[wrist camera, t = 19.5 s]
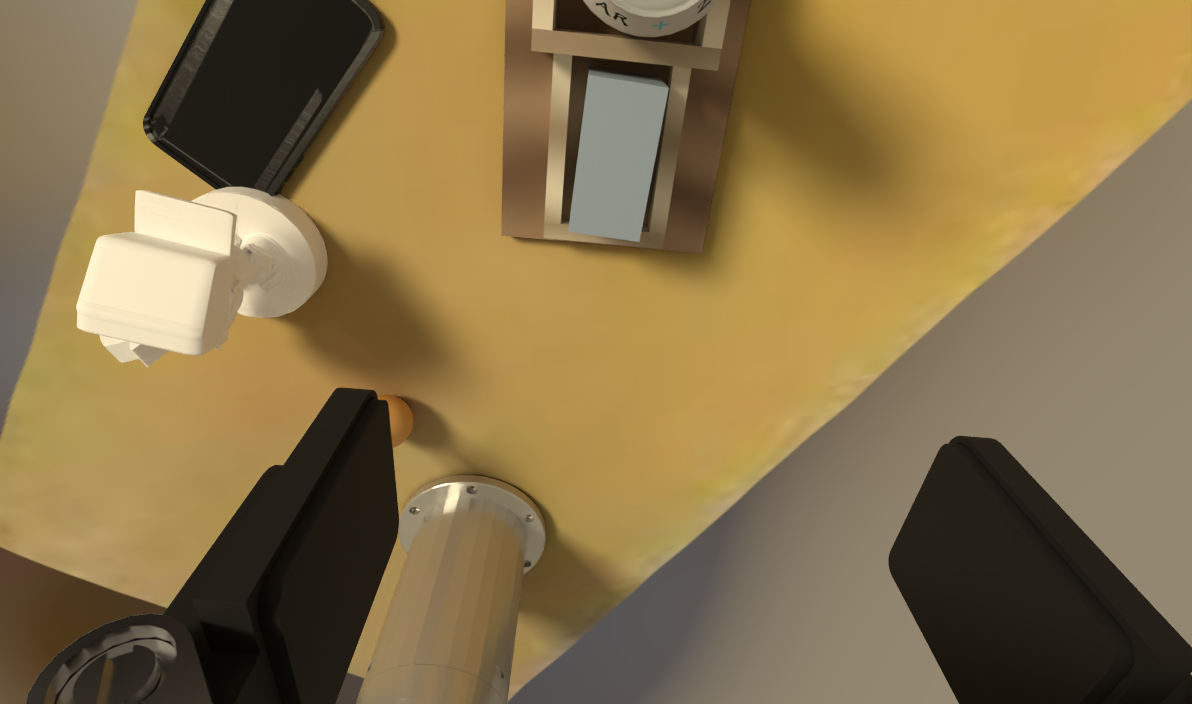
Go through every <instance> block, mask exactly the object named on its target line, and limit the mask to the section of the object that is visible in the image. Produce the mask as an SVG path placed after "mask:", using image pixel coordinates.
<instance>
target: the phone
mask: <svg viewBox="0 0 1192 704" xmlns="http://www.w3.org/2000/svg"><path fill="white" fill-rule="evenodd" d="M383 35H384V22H383V18H382V16H381V14H380V12H379V11H378V10H377V8H376V7H375V6H374V5H373V4H372V3H371V2H370V1H368V0H206V1H205V3H204V5H203V7H202V9H201V11H200V12H199V14H198V16H197V18H196V20H195V22H194V24H193V26H192V28H191V29H190V31H189V33H188V35H187V37H186V39H185V41H184V43H183V45H182V46H181V48H180V50H179V52H178V54H177V56H176V58H175V60H174V62H173V63H172V65H171V67H170V69H169V71H168V73H167V75H166V77H165V79H164V80H163V82H162V84H161V86H160V88H159V90H158V92H157V94H156V96H155V97H154V99H153V101H152V103H151V105H150V107H149V109H148V111H147V113H146V114H145V116H144V120H143V128H144V131H145V133H146V135H147V137H148V138H149V140H150V141H151V142H152V143H153V144H154V145H156V146H157V147H158V148H160V149H161V150H162V151H164V152H165V153H167V154H168V155H169V156H171V157H172V158H173V159H175V160H176V161H178V162H179V163H180V164H182V165H183V166H184V167H186V168H187V169H189V170H190V171H191V172H193V173H194V174H195V175H197V176H198V177H200V178H201V179H202V180H204V181H205V182H206V183H208V184H209V185H211V186H212V187H213V188H215V189H216V190H217V189H222V188H225V187H245V188H251V189H256V190H259V191H262V192H265V193H268V194H269V195H270V196H274V195H278V194H279V192H280V191H281V189H282V186H283V185H284V183H285V182H287V181H288V179H289V178H290V176H291V175H292V173H293V172H294V168H295V167H296V168H297V167H298V165H299V164H300V162H301V161H302V159H303V158H304V157H303V155H304V154H305V152H306V151H307V149H308V148H309V146H310V145H311V143H312V142H313V140H314V139H315V137H316V136H317V134H318V133H319V131H320V130H321V128H322V127H323V125H324V124H325V122H326V121H327V119H328V118H329V117H330V115H331V114H332V112H333V111H334V109H335V108H336V106H337V105H338V103H339V102H340V100H341V99H342V97H343V96H344V94H345V93H346V91H347V90H348V88H349V87H350V85H351V84H352V82H353V81H354V79H355V78H356V76H357V75H358V73H359V72H360V71H361V69H362V68H363V66H364V65H365V63H366V62H367V60H368V59H369V57H370V56H371V54H372V53H373V51H374V50H375V48H376V47H377V45H378V44H379V42H380V41H381V39H382V37H383Z"/></svg>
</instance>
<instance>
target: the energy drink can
mask: <svg viewBox="0 0 1192 704" xmlns="http://www.w3.org/2000/svg"><path fill="white" fill-rule="evenodd" d="M583 1H584V2H585V4H586V5H587V6H588V7H589V9H590V10H591V11H592V12H593V13H594V14H595V15H596V16H597V17H599V18H600V19H601V20H602V21H603V22H605V23H606V24H608V25H609V26H611V27H613V28H615V29H617V30H619V31H620V32H624V33H627V34H631V35H634V36H642V37H658V36H664V35H670V34H673V33H675V32H678V31H680V30H683V29H685V28H687V27H689V26H690V25H692V24H694V23H695V22H697V21H698V20H700V19H701V18H702V17H704V16H705V15H706V14H707V13H708V12H709V11H710V10H711V9H712V8H713V7H714V6H715V5H716V4H717V2H718V1H719V0H583Z"/></svg>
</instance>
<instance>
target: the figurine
mask: <svg viewBox="0 0 1192 704" xmlns="http://www.w3.org/2000/svg"><path fill="white" fill-rule="evenodd" d="M377 397H378V399H379V400H386V401H387V402H388V406H389V415H390V426H391V437H392V448H394V447H396V446H398V445H400V444H401V443H403V442H404V441H405V440H406V439H407V438H408V436H409V435H410V433H411V431H412V428H413V415H412V412H411V409H410V408H409V406H408V405H407V404H406V403H405V402H404V401H403V400H401V399H400V398H397V397H395V396H390V395H382V396H377Z"/></svg>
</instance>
